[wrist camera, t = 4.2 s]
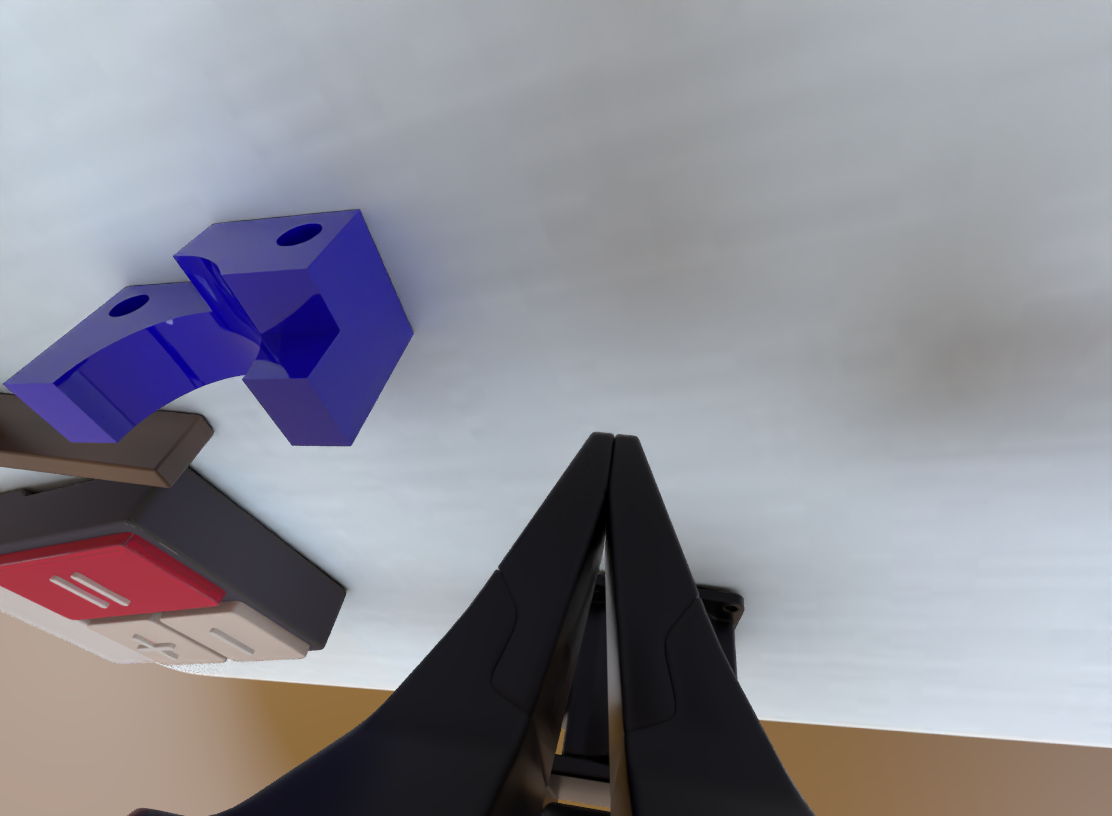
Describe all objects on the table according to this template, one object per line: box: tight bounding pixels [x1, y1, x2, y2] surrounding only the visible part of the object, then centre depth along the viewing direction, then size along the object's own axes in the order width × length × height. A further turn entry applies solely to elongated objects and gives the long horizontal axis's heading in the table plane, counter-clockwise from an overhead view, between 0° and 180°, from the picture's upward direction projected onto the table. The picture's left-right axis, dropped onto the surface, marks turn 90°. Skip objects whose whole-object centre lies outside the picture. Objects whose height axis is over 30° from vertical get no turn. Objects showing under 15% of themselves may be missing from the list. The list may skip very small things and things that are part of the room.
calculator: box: [0, 467, 346, 665], centre depth 26 cm, size 11×4×15 cm
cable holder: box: [3, 209, 413, 446], centre depth 13 cm, size 8×4×4 cm, turn 100°
